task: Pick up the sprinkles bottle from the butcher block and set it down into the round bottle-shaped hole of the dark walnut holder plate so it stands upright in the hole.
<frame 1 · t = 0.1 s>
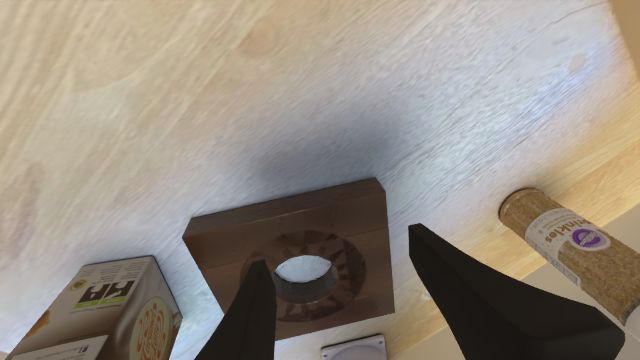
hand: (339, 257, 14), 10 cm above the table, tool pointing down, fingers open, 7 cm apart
sprinkles bottle: (517, 205, 27), on the table
holder: (302, 260, 27), on the table
coffee box: (138, 293, 26), on the table
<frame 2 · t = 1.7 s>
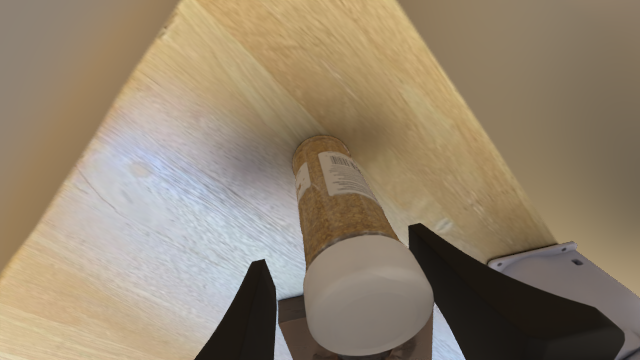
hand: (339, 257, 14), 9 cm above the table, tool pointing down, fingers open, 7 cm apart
sprinkles bottle: (321, 160, 21), on the table
holder: (359, 331, 32), on the table
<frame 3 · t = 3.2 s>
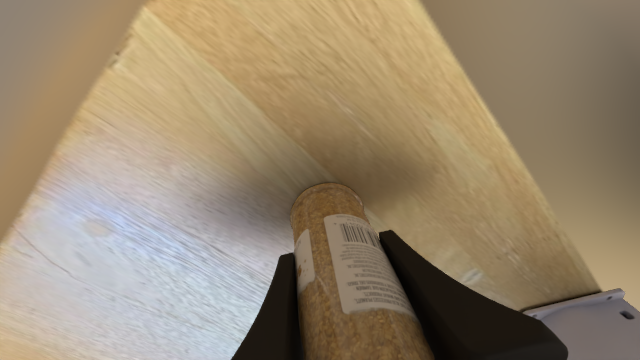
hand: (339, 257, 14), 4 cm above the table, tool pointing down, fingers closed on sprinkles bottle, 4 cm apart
sprinkles bottle: (326, 210, 17), on the table, touching gripper
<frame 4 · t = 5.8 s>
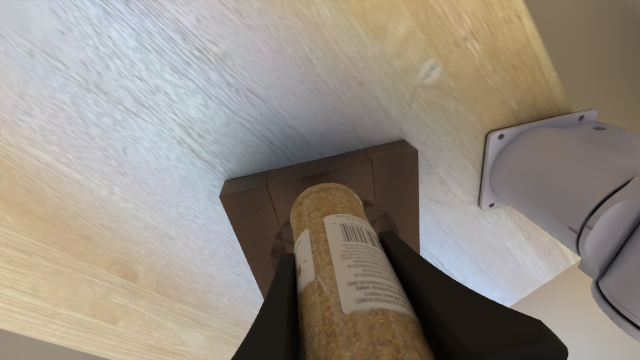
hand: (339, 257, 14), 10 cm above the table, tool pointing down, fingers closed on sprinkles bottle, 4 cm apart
sprinkles bottle: (326, 210, 17), point 6 cm above the table, touching gripper
holder: (331, 234, 26), on the table
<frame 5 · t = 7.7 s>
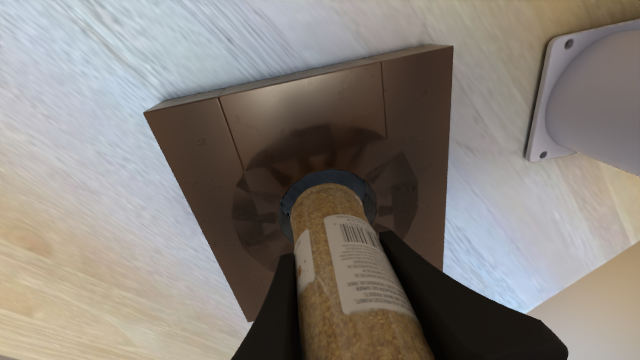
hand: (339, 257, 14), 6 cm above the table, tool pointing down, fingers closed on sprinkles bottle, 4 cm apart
sprinkles bottle: (326, 210, 17), point 2 cm above the table, touching gripper
holder: (322, 193, 19), on the table
when the fingers open (4 cm above the table, at t = 8.8 s): sprinkles bottle stays where it is, resting in holder.
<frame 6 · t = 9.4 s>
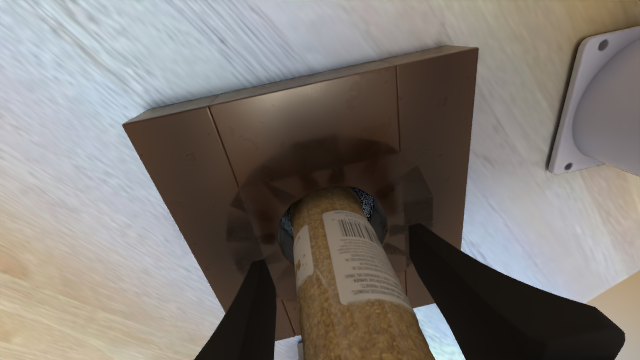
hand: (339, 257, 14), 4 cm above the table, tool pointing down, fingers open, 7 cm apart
sprinkles bottle: (325, 207, 17), resting in holder
holder: (326, 209, 17), on the table
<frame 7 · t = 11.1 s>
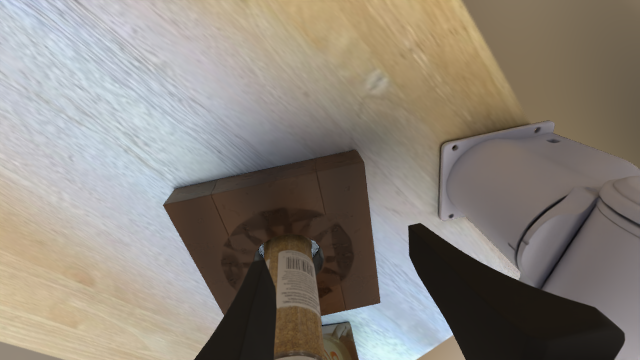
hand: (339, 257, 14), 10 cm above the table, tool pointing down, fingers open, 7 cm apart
sprinkles bottle: (288, 242, 26), resting in holder
holder: (289, 243, 26), on the table
coffee box: (315, 340, 34), on the table
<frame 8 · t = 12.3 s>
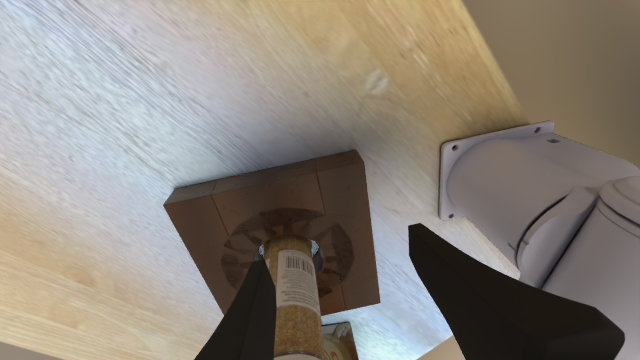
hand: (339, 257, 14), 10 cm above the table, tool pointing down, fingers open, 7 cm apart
sprinkles bottle: (288, 241, 26), resting in holder
holder: (289, 243, 26), on the table
coffee box: (315, 340, 34), on the table
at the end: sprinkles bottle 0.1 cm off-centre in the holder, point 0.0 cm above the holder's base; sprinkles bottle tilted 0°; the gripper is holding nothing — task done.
